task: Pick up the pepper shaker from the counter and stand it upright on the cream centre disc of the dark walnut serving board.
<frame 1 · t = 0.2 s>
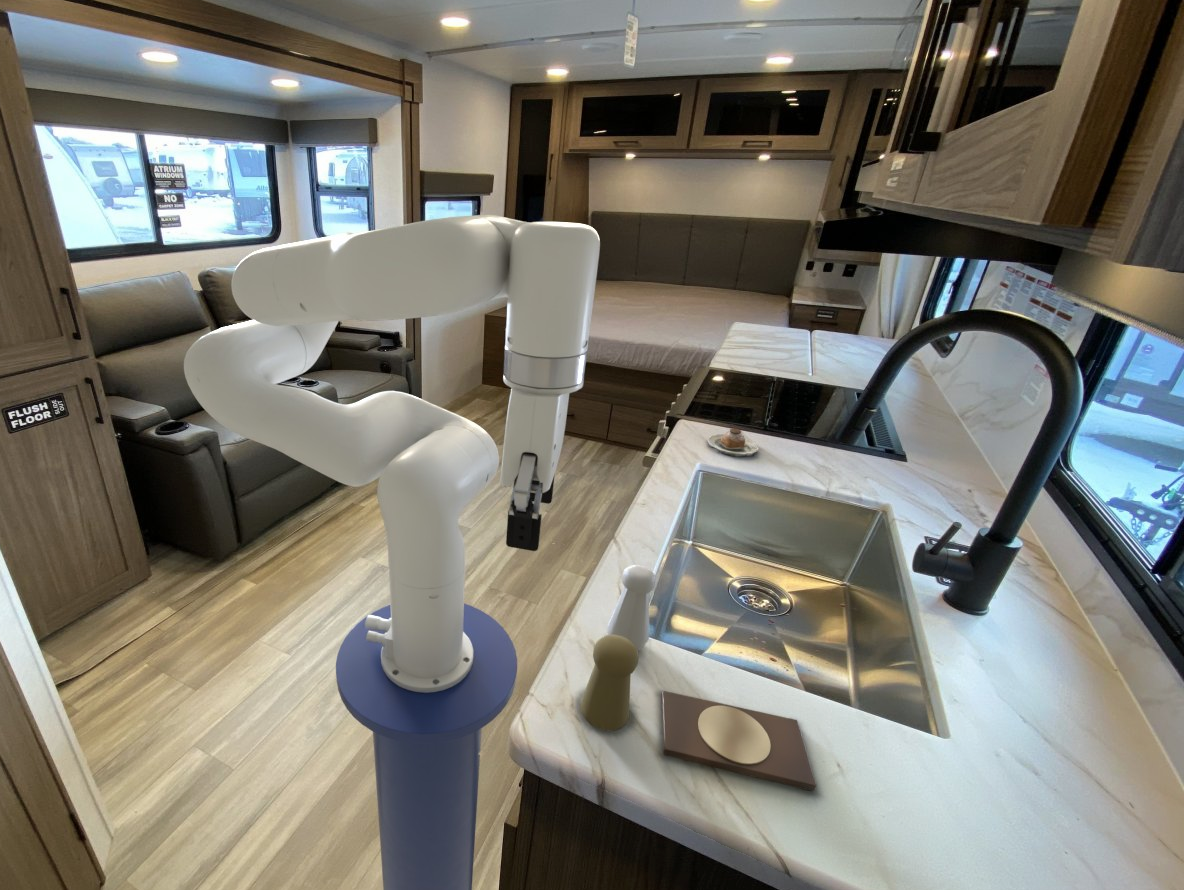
hand: (530, 522, 61), 26 cm above the worktop, tool pointing down, fingers open, 9 cm apart
salt shaker: (625, 645, 83), on the worktop
pastry: (731, 448, 146), on the worktop
serving board: (731, 739, 69), on the worktop
pepper shaker: (604, 711, 72), on the worktop
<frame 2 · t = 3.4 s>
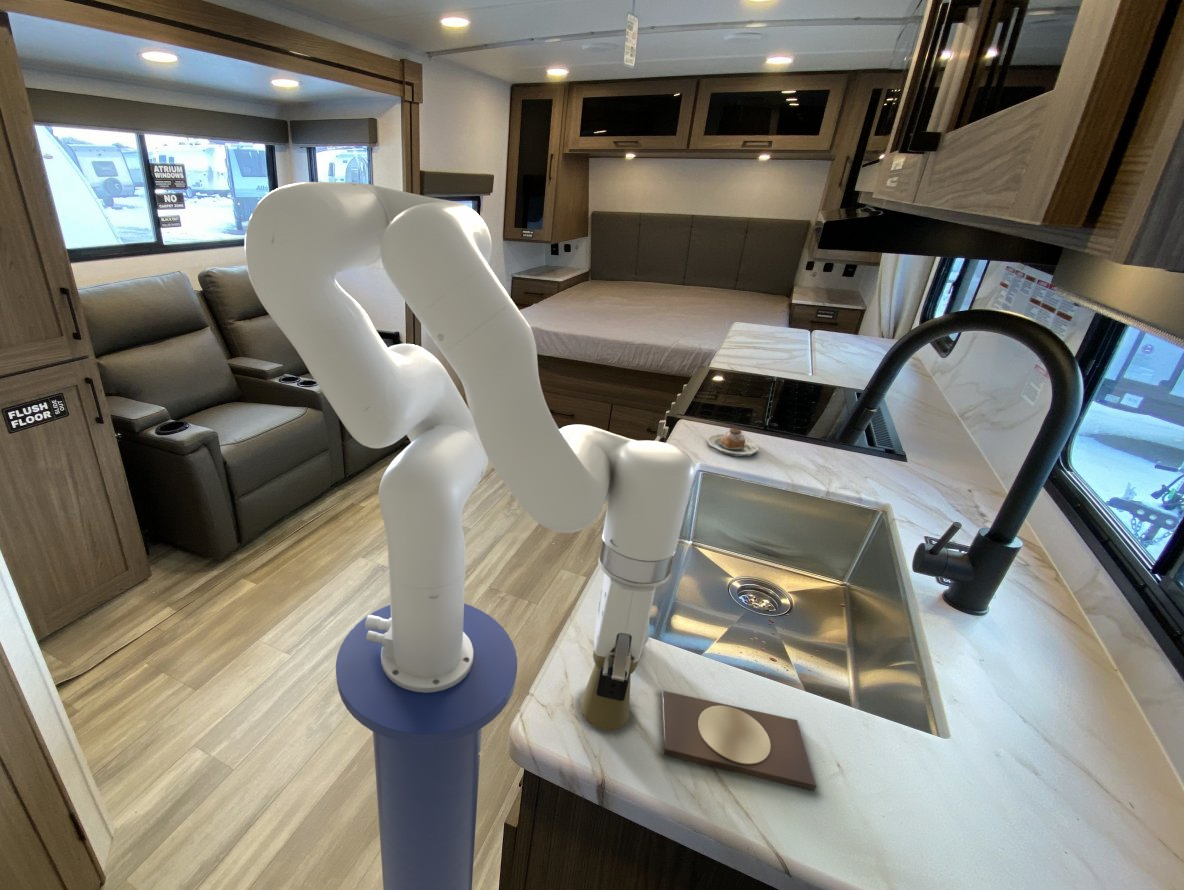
hand: (611, 676, 69), 6 cm above the worktop, tool pointing down, fingers closed on pepper shaker, 5 cm apart
pepper shaker: (604, 711, 72), on the worktop, touching gripper
everything else where it was.
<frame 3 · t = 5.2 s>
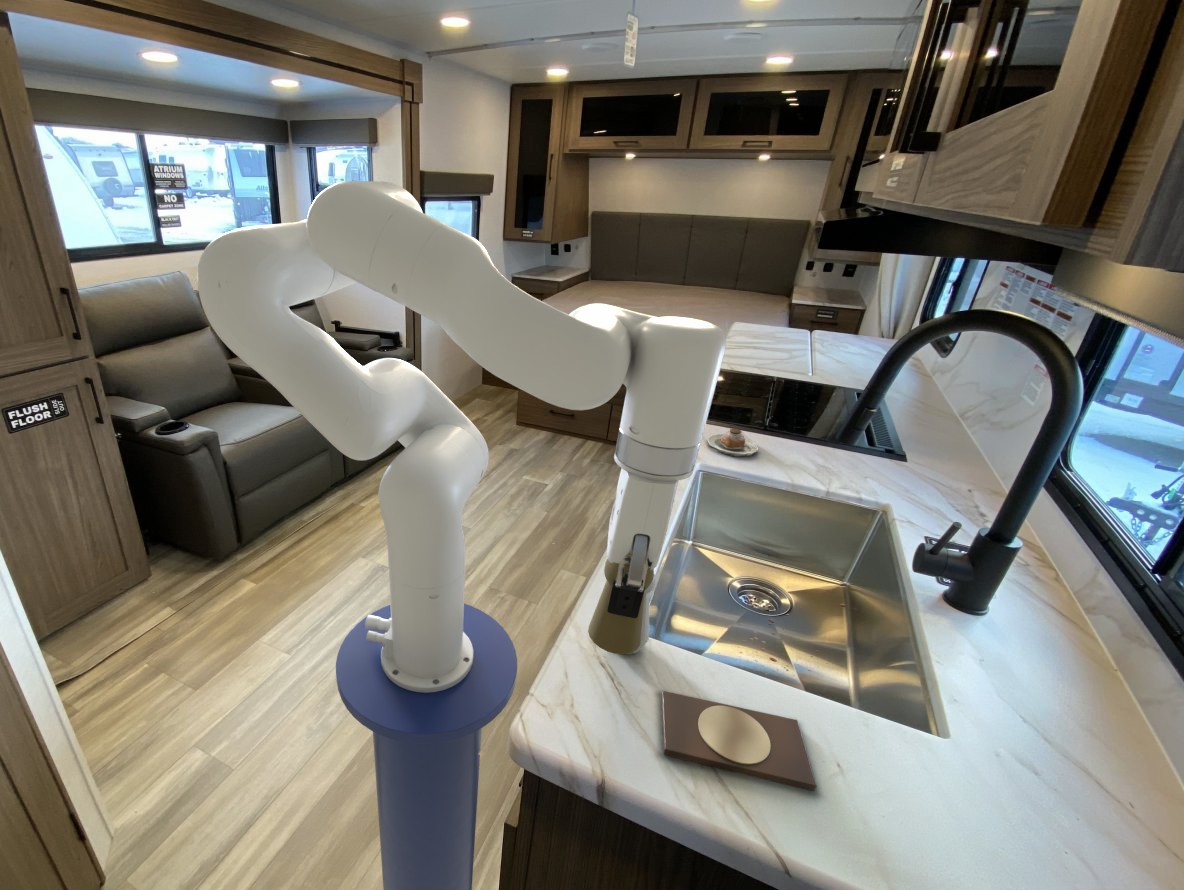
hand: (623, 595, 64), 18 cm above the worktop, tool pointing down, fingers closed on pepper shaker, 5 cm apart
pepper shaker: (613, 636, 67), point 12 cm above the worktop, touching gripper
everything else where it was.
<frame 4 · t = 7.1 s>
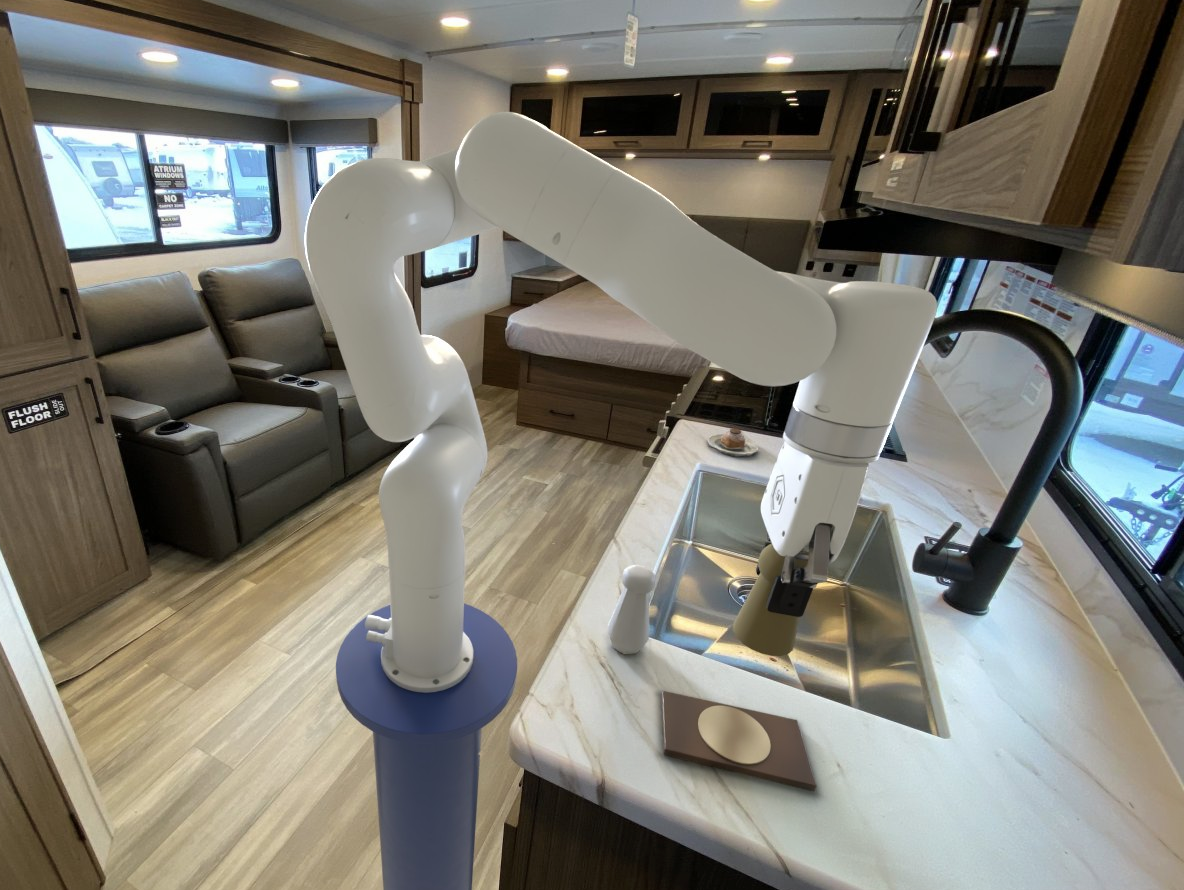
hand: (777, 592, 59), 22 cm above the worktop, tool pointing down, fingers closed on pepper shaker, 5 cm apart
pepper shaker: (762, 636, 61), point 16 cm above the worktop, touching gripper
everything else where it was.
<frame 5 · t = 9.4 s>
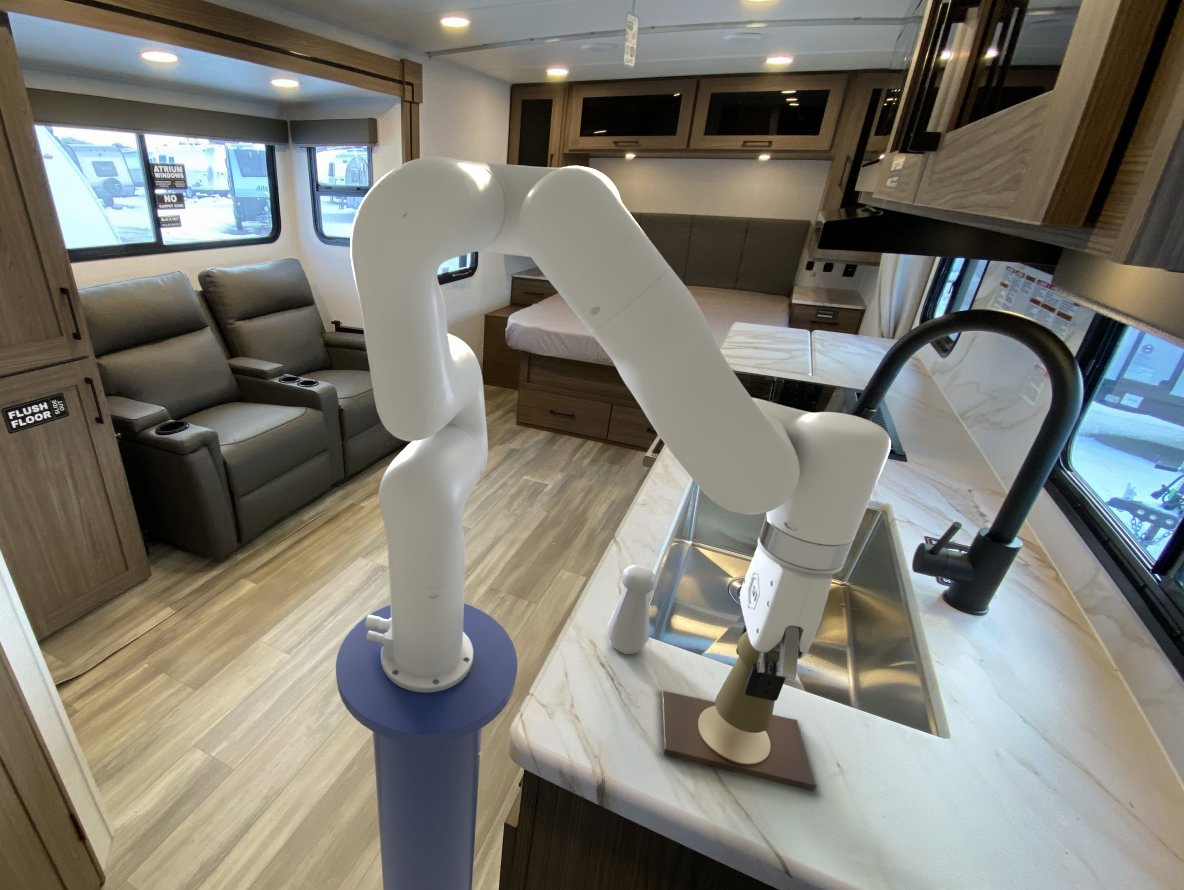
hand: (755, 674, 64), 11 cm above the worktop, tool pointing down, fingers closed on pepper shaker, 5 cm apart
pepper shaker: (742, 711, 67), point 5 cm above the worktop, touching gripper
everything else where it was.
when the fingers open (7 cm above the worktop, at t = 10.8 s): pepper shaker stays where it is, resting on serving board.
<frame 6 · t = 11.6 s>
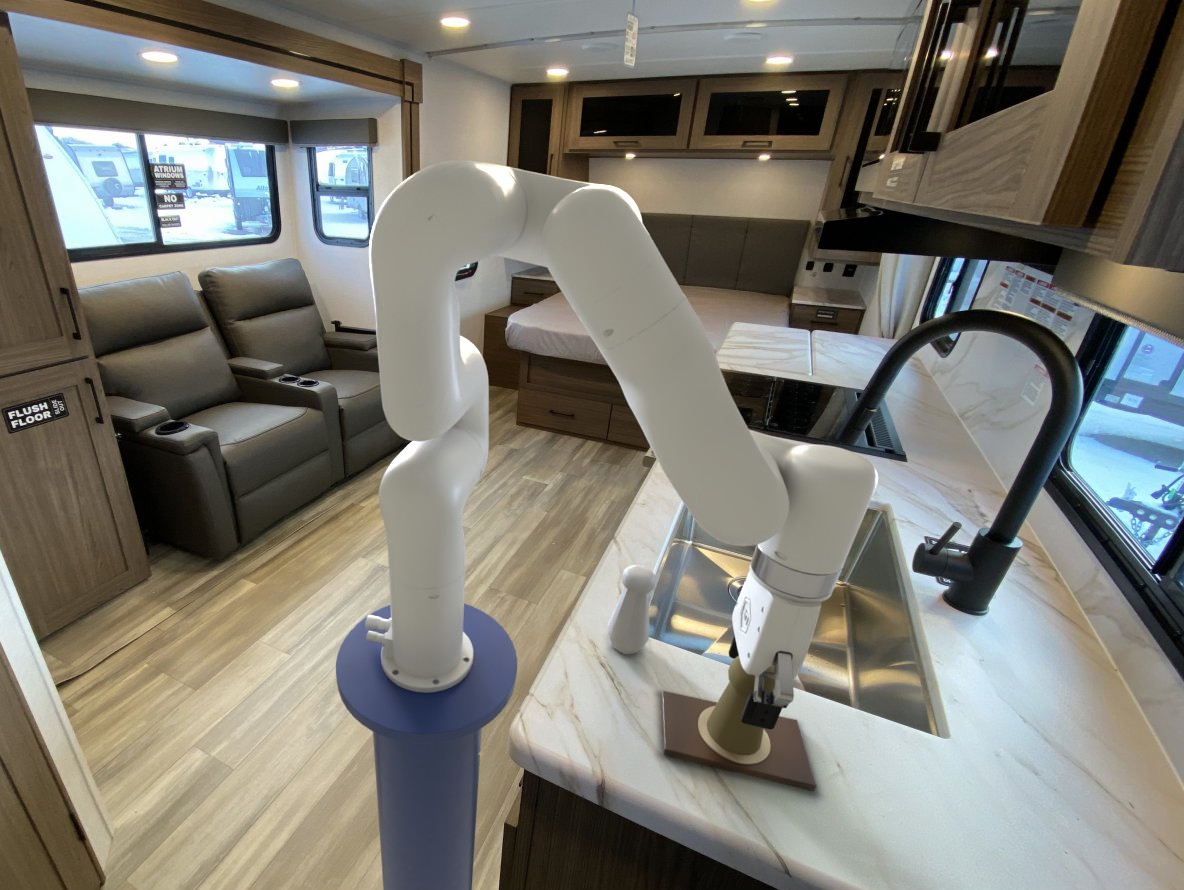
hand: (748, 689, 65), 8 cm above the worktop, tool pointing down, fingers open, 9 cm apart
pepper shaker: (733, 733, 68), point 1 cm above the worktop, touching serving board
everything else where it was.
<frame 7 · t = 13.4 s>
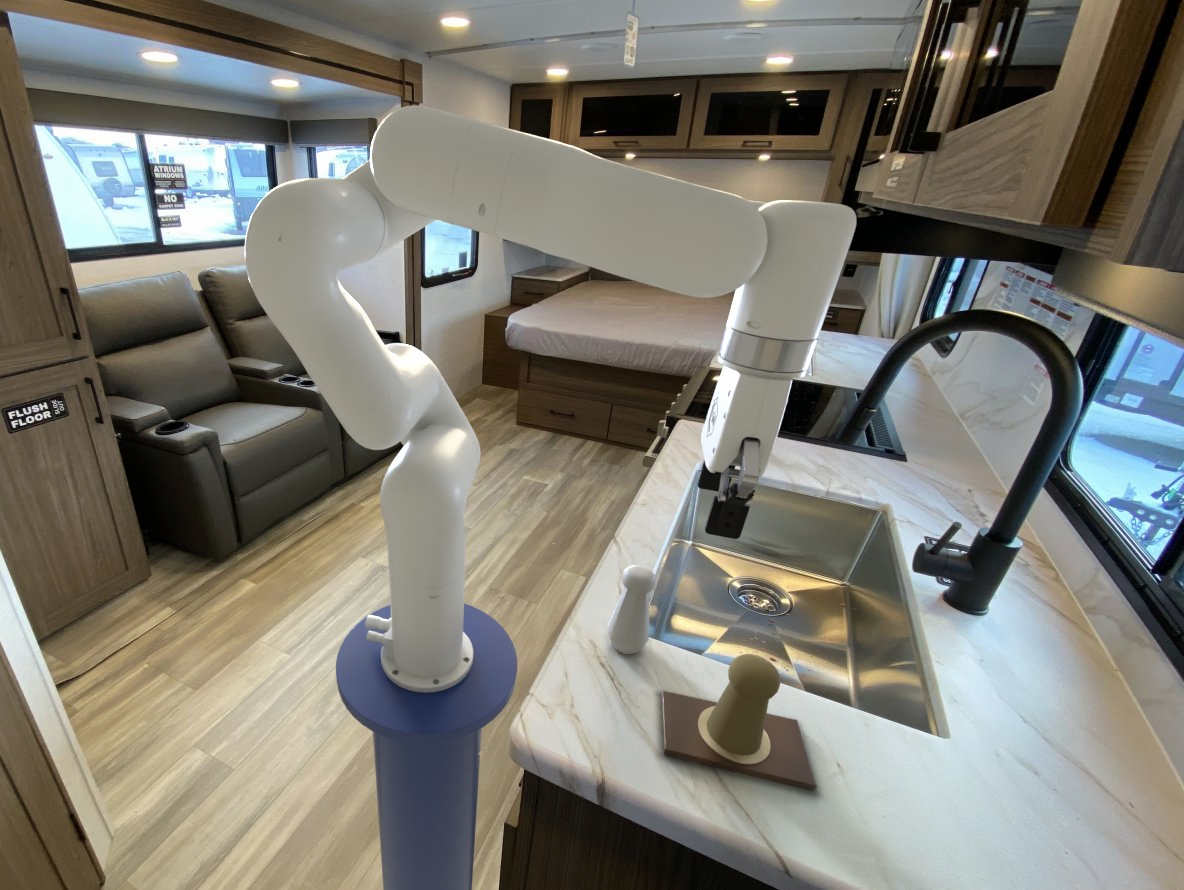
hand: (716, 510, 60), 29 cm above the worktop, tool pointing down, fingers open, 9 cm apart
nothing on the worktop moved.
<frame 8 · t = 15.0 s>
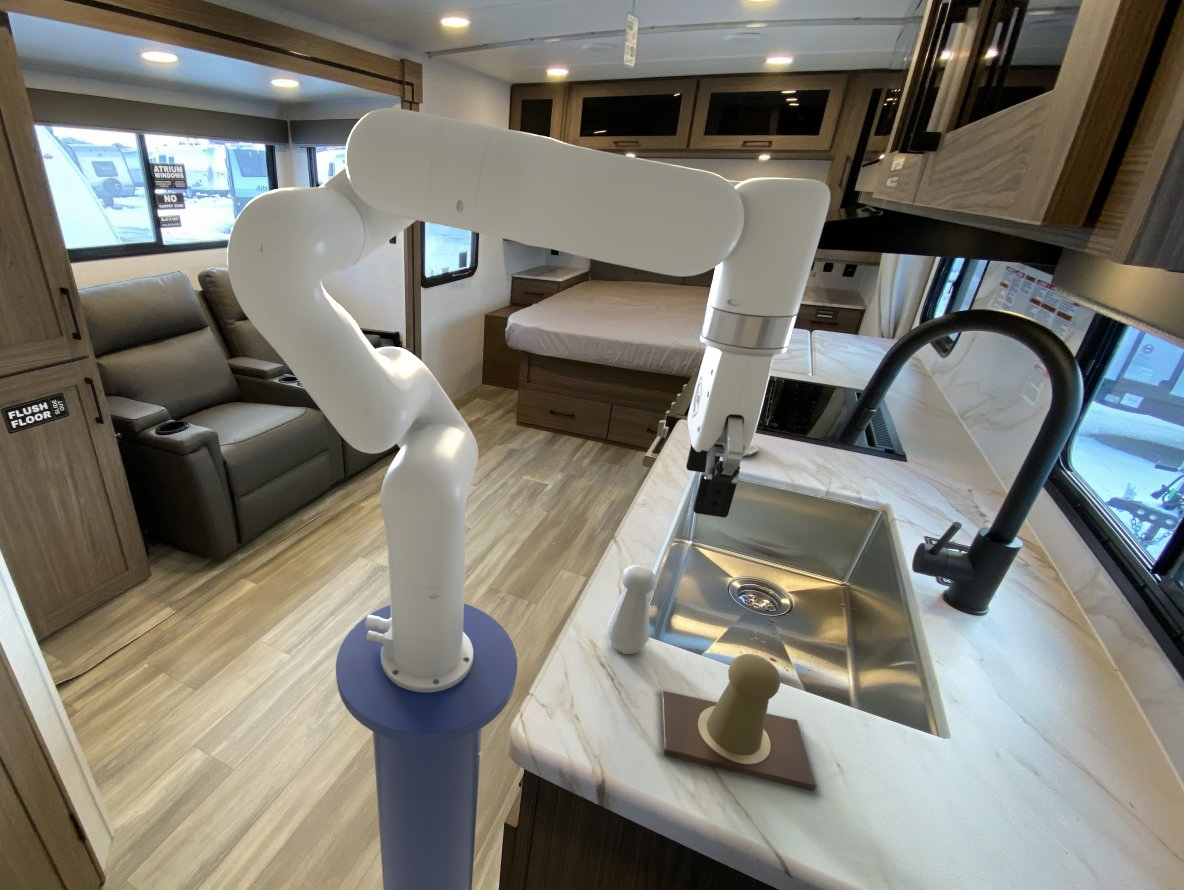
hand: (704, 491, 61), 30 cm above the worktop, tool pointing down, fingers open, 9 cm apart
nothing on the worktop moved.
at the end: pepper shaker 0.0 cm off-centre on the serving board, point 1.0 cm above the serving board's base; pepper shaker tilted 0°; the gripper is holding nothing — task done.
